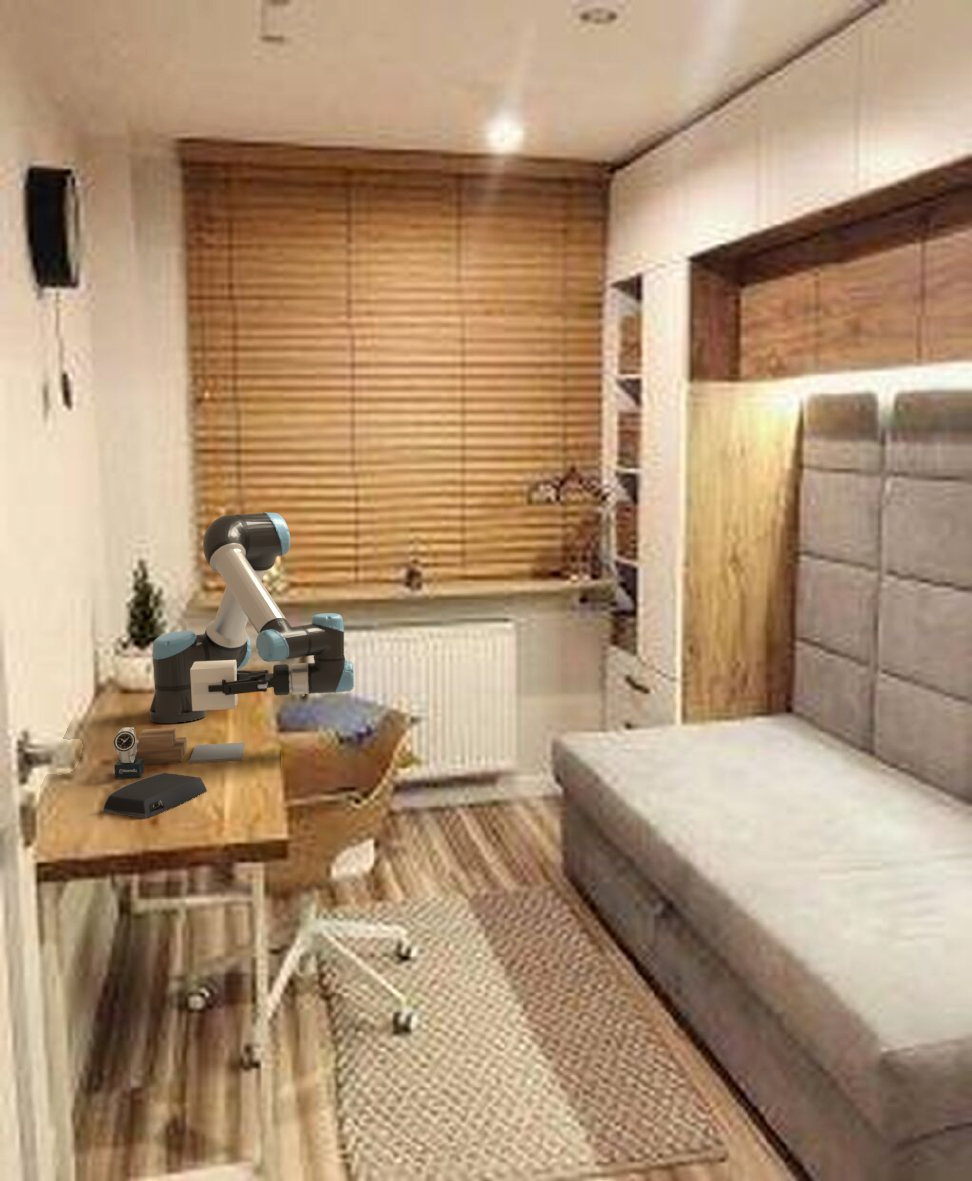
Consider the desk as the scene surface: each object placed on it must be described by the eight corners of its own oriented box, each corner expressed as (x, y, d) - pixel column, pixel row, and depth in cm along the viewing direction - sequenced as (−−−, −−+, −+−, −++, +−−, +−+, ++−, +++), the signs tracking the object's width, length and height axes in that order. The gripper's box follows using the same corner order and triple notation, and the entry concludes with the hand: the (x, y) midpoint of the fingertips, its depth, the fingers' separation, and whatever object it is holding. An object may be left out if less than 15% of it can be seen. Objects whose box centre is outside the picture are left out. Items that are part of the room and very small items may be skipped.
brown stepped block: (136, 751, 275) (135, 727, 274) (186, 748, 277) (185, 725, 276) (129, 765, 263) (127, 740, 262) (181, 762, 265) (180, 737, 264)
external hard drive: (99, 813, 230) (98, 794, 230) (162, 786, 248) (161, 768, 247) (148, 821, 225) (147, 801, 224) (210, 793, 242) (209, 775, 242)
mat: (195, 747, 278) (195, 745, 278) (244, 744, 280) (244, 742, 280) (189, 763, 264) (189, 760, 264) (241, 760, 266) (241, 757, 266)
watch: (112, 780, 251) (110, 733, 250) (121, 770, 259) (118, 724, 258) (138, 780, 251) (135, 732, 250) (146, 769, 259) (143, 723, 258)
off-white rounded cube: (196, 701, 275) (194, 661, 273) (238, 699, 276) (236, 659, 275) (192, 711, 265) (190, 669, 264) (235, 708, 266) (233, 667, 265)
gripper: (289, 704, 262) (192, 709, 259) (291, 684, 284) (201, 689, 281) (288, 673, 261) (190, 677, 258) (290, 655, 283) (200, 659, 280)
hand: (196, 683), depth 269 cm, fingers closed on off-white rounded cube, 10 cm apart
